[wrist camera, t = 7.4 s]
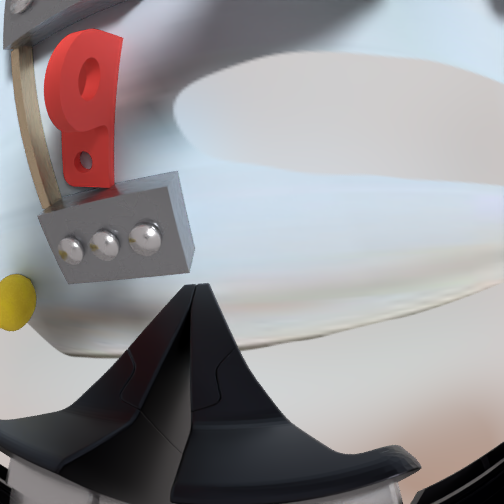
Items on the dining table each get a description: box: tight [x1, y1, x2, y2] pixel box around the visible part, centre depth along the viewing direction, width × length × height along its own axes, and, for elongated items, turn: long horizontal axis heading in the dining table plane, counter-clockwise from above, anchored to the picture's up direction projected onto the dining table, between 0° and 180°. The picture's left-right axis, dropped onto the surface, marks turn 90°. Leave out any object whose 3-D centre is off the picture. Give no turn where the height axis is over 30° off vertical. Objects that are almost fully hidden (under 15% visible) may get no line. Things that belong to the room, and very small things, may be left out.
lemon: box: [0, 274, 36, 331], centre depth 22 cm, size 6×6×8 cm
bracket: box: [44, 29, 123, 188], centre depth 14 cm, size 12×4×8 cm, turn 171°
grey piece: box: [3, 0, 195, 284], centre depth 15 cm, size 12×29×4 cm, turn 6°
